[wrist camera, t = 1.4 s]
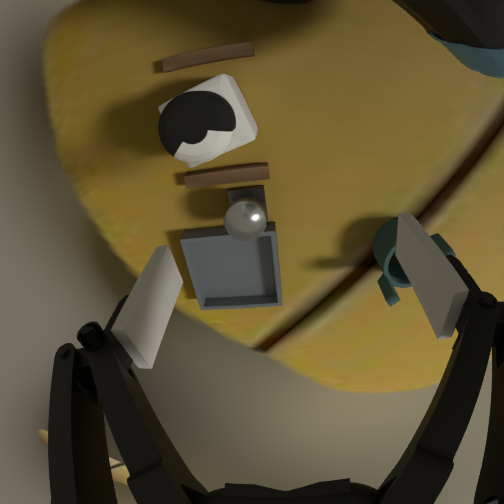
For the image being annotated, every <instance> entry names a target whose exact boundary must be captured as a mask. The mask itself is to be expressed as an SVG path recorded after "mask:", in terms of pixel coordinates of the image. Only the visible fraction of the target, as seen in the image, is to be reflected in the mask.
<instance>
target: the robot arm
mask: <svg viewBox="0 0 504 504" xmlns="http://www.w3.org/2000/svg"><path fill="white" fill-rule="evenodd" d="M262 1H266V2H272V3H281V4H294V3H303V2H309V1H313V0H262ZM393 1H394V2H395V3H396V4H398V5H399V6H400V7H401V8H402V9H404V10H405V11H406V12H407V13H408V14H410V15H411V16H412V17H413V18H414V19H415V20H416V21H417V22H419V23H420V24H421V25H422V26H423V27H424V28H425V30H426V32H427V33H428V34H429V35H430V36H431V37H432V38H434V39H435V40H437V41H438V42H440V43H442V44H443V45H444V46H445V47H446V48H447V49H448V50H449V51H450V52H451V53H452V54H453V55H454V56H455V57H456V58H457V59H458V60H459V61H460V62H461V63H462V64H464V65H465V66H466V67H468V68H470V69H471V70H475V71H478V72H480V73H482V74H484V75H487V76H491V77H497V78H504V0H393ZM395 256H396V257H397V259H398V261H399V263H400V264H401V266H402V268H403V270H404V272H405V274H406V275H407V277H408V279H409V281H410V283H411V285H412V287H413V289H414V291H415V293H416V295H417V297H418V299H419V301H420V303H421V305H422V307H423V309H424V311H425V313H426V315H427V317H428V319H429V321H430V323H431V326H432V328H433V330H434V332H435V335H436V337H437V339H438V340H440V339H444V338H448V337H451V336H452V334H453V332H454V330H455V327H456V329H457V331H458V333H459V334H458V337H457V339H456V341H455V343H454V345H453V348H452V349H453V351H452V353H451V356H450V359H449V362H448V364H447V367H446V369H445V372H444V374H443V377H442V379H441V381H440V384H439V386H438V389H437V391H436V393H435V395H434V397H433V400H432V402H431V404H430V406H429V408H428V410H427V412H426V414H425V416H424V418H423V420H422V422H421V424H420V426H419V427H418V429H417V431H416V433H415V435H414V436H413V438H412V440H411V442H410V443H409V445H408V447H407V449H406V450H405V452H404V453H403V455H402V457H401V459H400V460H399V461H398V463H397V464H396V466H395V467H394V469H393V470H392V471H391V472H390V474H389V475H388V476H387V478H386V479H385V480H384V482H383V483H382V485H381V486H380V487H379V489H378V490H377V489H374V488H372V487H370V486H367V485H364V484H359V483H353V482H352V483H351V482H350V478H348V479H340V480H333V481H325V482H318V483H314V484H311V485H308V486H305V487H301V488H297V489H294V490H290V491H281V490H276V489H272V488H267V487H263V486H259V485H255V484H230V483H225V488H221V489H217V490H214V491H211V492H208V491H207V490H206V489H205V487H204V486H203V485H202V484H201V483H200V482H199V481H198V480H196V478H195V477H194V476H193V475H192V473H191V472H190V470H189V469H188V467H187V466H186V464H185V463H184V461H183V460H182V458H181V457H180V455H179V453H178V452H177V450H176V449H175V447H174V445H173V444H172V442H171V440H170V439H169V437H168V435H167V434H166V432H165V430H164V428H163V427H162V425H161V424H160V421H159V420H158V418H157V416H156V414H155V412H154V411H153V409H152V407H151V405H150V403H149V401H148V399H147V397H146V395H145V393H144V391H143V389H142V387H141V385H140V383H139V381H138V379H137V377H136V375H135V372H134V370H133V369H132V368H131V364H132V362H133V361H134V363H135V364H136V365H137V366H138V368H149V369H151V368H152V366H153V363H154V360H155V357H156V354H157V351H158V349H159V346H160V343H161V340H162V337H163V335H164V331H165V329H166V326H167V323H168V321H169V318H170V315H171V313H172V310H173V307H174V305H175V302H176V299H177V297H178V294H179V292H180V289H181V286H182V284H183V280H182V278H181V275H180V273H179V270H178V268H177V265H176V263H175V260H174V258H173V255H172V253H171V250H170V248H169V245H165V246H159V247H157V248H156V249H155V251H154V253H153V254H152V256H151V258H150V259H149V261H148V263H147V265H146V266H145V268H144V270H143V271H142V273H141V275H140V277H139V278H138V280H137V282H136V284H135V286H134V287H133V289H132V291H131V293H130V295H126V296H125V297H124V298H123V299H122V300H121V301H120V302H119V303H118V305H117V307H116V310H115V311H114V312H113V314H112V315H113V316H111V318H110V320H109V322H108V324H107V325H106V327H105V329H104V331H103V330H102V328H101V327H100V325H99V324H98V323H97V322H89V323H87V324H85V325H84V326H82V327H81V329H80V330H79V331H78V334H77V339H78V341H79V342H80V343H81V344H82V346H83V347H84V348H80V349H76V348H75V347H74V345H73V344H71V343H67V344H64V345H62V346H61V347H60V348H59V349H58V350H57V352H56V355H55V359H54V366H53V373H52V382H51V392H50V405H49V427H48V459H49V478H50V490H51V498H52V499H51V504H118V503H117V498H116V494H115V489H114V484H113V479H112V473H111V468H110V462H109V456H108V449H107V440H106V434H105V433H106V432H105V423H104V413H105V416H106V419H107V421H108V424H109V427H110V429H111V432H112V434H113V437H114V439H115V442H116V444H117V447H118V449H119V451H120V454H121V456H122V458H123V460H124V463H125V465H126V467H127V469H128V471H129V474H130V477H129V478H127V483H128V486H129V488H130V490H131V492H132V494H133V496H134V498H135V500H136V502H137V504H434V502H435V500H436V499H437V497H438V495H439V494H440V492H441V490H442V488H443V486H444V485H445V483H446V481H447V480H448V478H449V476H450V473H451V471H452V469H453V466H454V463H453V458H454V456H455V454H456V451H457V449H458V447H459V445H460V443H461V440H462V438H463V436H464V433H465V431H466V429H467V426H468V424H469V421H470V418H471V416H472V413H473V410H474V407H475V404H476V401H477V398H478V395H479V392H480V389H481V386H482V382H483V379H484V375H485V372H486V368H487V364H488V360H489V356H490V351H491V347H492V392H491V407H490V417H489V426H488V433H487V440H486V446H485V452H484V457H483V462H482V467H481V471H480V475H479V479H478V483H477V488H476V492H475V497H474V504H504V302H498V301H497V299H496V298H495V297H494V296H493V295H492V294H490V293H488V292H483V291H481V290H480V288H479V287H478V285H477V284H476V282H475V281H474V280H473V278H472V277H471V275H470V274H468V271H467V270H466V269H465V268H464V266H463V265H462V263H461V262H460V261H459V260H458V259H457V258H456V257H454V256H453V255H444V254H443V252H442V251H441V250H440V248H439V247H438V246H437V245H436V243H435V242H434V241H433V239H432V238H431V237H430V236H429V234H428V233H427V232H426V231H425V229H424V228H423V227H422V226H421V225H420V223H419V222H418V221H417V220H416V219H415V217H414V216H413V215H412V214H411V213H402V214H398V230H397V243H396V254H395ZM103 410H104V411H103Z"/></svg>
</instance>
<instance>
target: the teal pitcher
mask: <svg viewBox="0 0 504 504" xmlns="http://www.w3.org/2000/svg"><path fill="white" fill-rule="evenodd" d="M397 230H398V218H395V219H392V220H390V221H388V222H387V223H385V224H384V225H383V226H382V227H381V228H380V229H379V231H378V232H377V234H376V236H375V238H374V241H373V254H374V256H375V258H376V260H377V262H378V264H379V266H380V268H381V270H382V272H383V274H382V276H381V277H380V278H379V280H378V284H379V286H380V288H381V291H382V293H383V295H384V297H385V300H386V302H387V303H388V304H389V306H392V305H394V304H395V303H397V302H398V301H399V300H400V298H399V296H398V294H397V292H396V290H395V288H394V286H395V287H400V288H406V287H411V286H412V285H411V283H410V281H409V279H408V277H407V275H406V274H405V272H404V270H403V268H402V266H401V264H397V265H389V261H390V259H391V257H392V255H393V253H394V252H395V251H396V243H397ZM430 237H431V238H432V239H433V241H434V242H435V243H436V245H437V246H438V247H439V248H440V250H441V251H442V252H443V254H444V255H453V256H454V257H456V255H455V253H454V251H453V249H452V248H451V247H450V246H449V245H448V244H447V242H446V241H445V240H444V239H443V238H442V237H441V236H440V235H439V234H438V233H437V234H434V235H432V236H430Z"/></svg>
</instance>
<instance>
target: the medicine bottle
mask: <svg viewBox="0 0 504 504" xmlns="http://www.w3.org/2000/svg"><path fill="white" fill-rule="evenodd" d="M158 109H159V111H160V113H161V116H160V119H159V127H158V128H159V136H160V139H161V142H162V144H163V146H164V147H165V149H166V150H167V151H168V152H169V153H170V154H171V155H172V156H173V157H175V158H176V159H178V160H180V161H183V162H186V163H187V165H188V166H189V167H190V168H193V167H195V166H197V165H199V164H201V163H204V162H208V161H210V160H212V159H214V158H216V157H217V156H219V155H221V154H223V153H226V152H228V151H230V150H232V149H235V148H237V147H239V146H242V145H244V144H246V143H249V142H251V141H253V140H255V138H256V134H257V130H258V127H257V125H256V123H255V120H254V118H253V116H252V114H251V112H250V110H249V108H248V106H247V104H246V101H245V99H244V97H243V95H242V93H241V91H240V89H239V87H238V85H237V83H236V81H235V79H234V78H233V77H231V76H229V75H226V74H219V75H217V76H215V77H213V78H211V79H209V80H207V81H205V82H203V83H201V84H199V85H197V86H195V87H193V88H191V89H189V90H187V91H185V92H183V93H181V94H179V95H178V96H176V97H174V98H172V99H170V100H169V101H167V102H165V103H163V104H162V105H160V106H159V108H158Z"/></svg>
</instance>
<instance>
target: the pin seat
mask: <svg viewBox="0 0 504 504" xmlns="http://www.w3.org/2000/svg"><path fill="white" fill-rule="evenodd" d="M251 56H254V52H253V45H252V41H251V42H243V43H236V44H229V45H223V46H217V47H212V48H207V49H202V50H197V51H192V52H188V53H184V54H180V55H176V56H172V57H168V58H164V59H162V64H163V70H164V72H171V71H175V70H179V69H183V68H187V67H192V66H197V65H201V64H206V63H212V62H217V61H223V60H229V59H236V58H243V57H251ZM264 179H269V168H268V163H259V164H249V165H241V166H232V167H224V168H217V169H210V170H203V171H196V172H189V173H186V174H185V175H184V181H185V186H186V189H189V188H196V187H203V186H211V185H219V184H227V183H235V182H244V181H254V180H264Z"/></svg>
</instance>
